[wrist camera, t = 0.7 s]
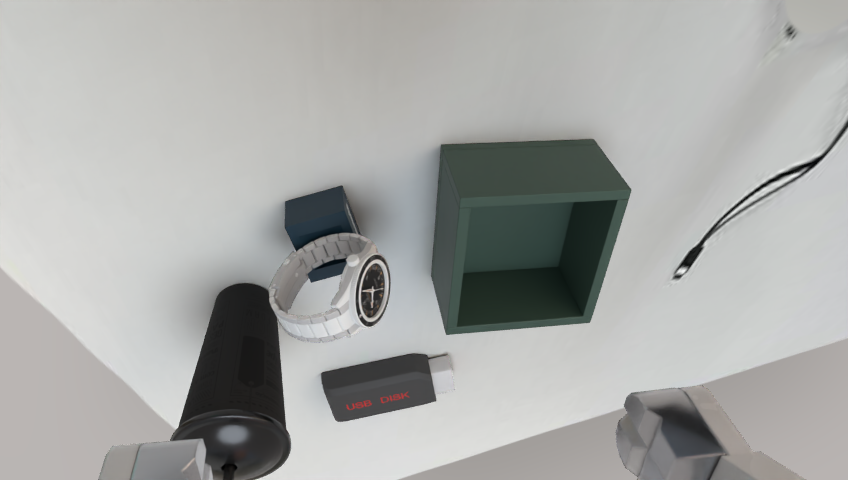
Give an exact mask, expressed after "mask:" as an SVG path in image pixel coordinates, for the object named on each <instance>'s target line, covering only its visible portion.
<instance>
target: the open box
mask: <svg viewBox="0 0 848 480" xmlns="http://www.w3.org/2000/svg"><path fill="white" fill-rule="evenodd" d="M630 193H631V188H630V187H629V186H628V184H627V183H626V182H625V181H624V179H623V178H622V177H621V175H620V174H619V173H618V171H617V170H616V169H615V167H614V166H613V165H612V163H611V162H610V161H609V159H608V158H607V157H606V155H605V154H604V153H603V151H602V150H601V149H600V147H599V146H598V145H597V143H596V142H595V141H594V140H593V139H591V140H563V141H535V142H507V143H479V144H452V145H441V154H440V167H439V181H438V194H437V207H436V220H435V233H434V247H433V260H432V273H431V277H432V281H433V284H434V288H435V292H436V296H437V300H438V304H439V308H440V312H441V316H442V320H443V324H444V329H445V333H446V335H450V334H462V333H474V332H486V331H498V330H510V329H521V328H533V327H545V326H557V325H569V324H581V323H590V321H591V318H592V315H593V312H594V309H595V306H596V303H597V299H598V296H599V293H600V290H601V287H602V283H603V280H604V277H605V274H606V271H607V267H608V264H609V261H610V258H611V255H612V251H613V248H614V245H615V242H616V238H617V235H618V232H619V229H620V226H621V222H622V219H623V216H624V213H625V210H626V206H627V203H628V199H629V196H630Z"/></svg>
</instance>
